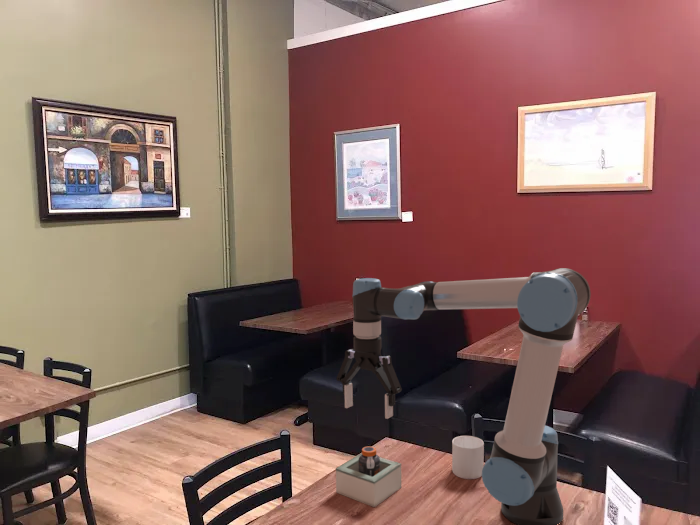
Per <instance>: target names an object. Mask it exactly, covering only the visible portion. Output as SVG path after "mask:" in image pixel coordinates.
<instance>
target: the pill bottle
mask: <svg viewBox="0 0 700 525" xmlns="http://www.w3.org/2000/svg"><path fill="white" fill-rule="evenodd" d="M361 453H362V455H361V456H360V457H359V472H360V473H363V474H366V475H369V476H372V477H373V476H375V475H376V474H378V473H379V472H380V458H379V457H380V456H379V455H378V454H377V448H376V447H374V446H364V447H362V449H361Z"/></svg>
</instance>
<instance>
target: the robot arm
mask: <svg viewBox="0 0 700 525" xmlns="http://www.w3.org/2000/svg"><path fill="white" fill-rule="evenodd" d="M352 284H353V285H352V296H351V297H352V308H353V312H352V313H353V320H352V321H353V323H352V324H353V326H352V328H353V329H352V332H353V336H354V337H353V348H350V349H348V350H345V352H344V359H343V361H342V363H341V366H340V369H339V371H338V373H337V376H336V381H338V382H340V383H341V384H342V395H343V396H344V409H348V408H350V407H353V406H354V402H353V401H354V399H353V398H354V397H353V395H354V393H353V390H354V388H353V383H352V380H353V378H354V377H355V376H356V374H358V373H359V370H366V371H369V372H372V374H374V375H375V376H376V378H377V380H378V381H379V382H380V384H381V385H382V387H383V389H384V390H385V392H386V393H385V394H384V418H385V419H387V420H388V419H390V418H391V417H393V416H394V406H395V405H396V394H399V393H401V392H402V390H403V388H402V386H401V383H400V380H399V379H398V377H397V373H396V372H395V368H394V366H393V363H392V362H393V361H392V357H391V356H390V355H386V356H382V354H381V350H382V336H381V334H382V317H387V318H394V319H401V320H405V321H406V320H412V321H413V320H418V319H419V318H420V317H421V315H422V314H423V312H424V311H438V310H481V309H482V310H486V309H487V310H488V309H517V311H518V315H519V321H518V326H517V327H518V329H519V331H520V332H521V333H522V335H523V336H522V341H521V345H520V351H519V355H518V360H517V364H516V368H515V374H514V379H513V383H512V386H511V393H510V396H509V397H510V398H509V403H508V407H507V412H506V416H505V421H504V426H503V429H502V430H500V431H498V432H497V433H495V436H494V441H493V445H492V450H491V455H490V456H489V457H490V458H488V459H487V460H486V461H485V462H484V467H483V469H482V476H481V479H482V483H483V485H484V488H486V490H487V491H488V493H489V494H490V496H491V497H493V498H494V499H495V500H497V501H498V502H500V509H501V510H500V511H501V513H502V514H503V516H504V517H505V519H507V520H508V521H510V522H511V523H513V524H515V525H557V524H559V523H560V522H561V521H562V519H563V520H564V506H563V503H562V501H561V500H562V499H561V497H560V493H559V491H558V487H557V486H558V485H557V484H558V481H557V480H558V448H559V441H558V440H559V438H558V433H557V431H556V430H555V429H554V428H553V427H551V426H548V425H546V422H547V419H548V414H549V409H550V406H551V401H552V395H553V392H554V387H555V383H556V378H557V374H558V370H559V365H560V361H561V357H562V352H563V349H564V345H565V344H568V343H569V342H571V341H572V340H573V338H574V333H575V328H576V325H577V320H578V316H580V315H581V314H582V313H584V311H585V310H586V309H587V307H588V305H589V304H590V301H591V295H592V293H591V287H590V285H589V282H588V280H587V279H586V278H585V277H584V276H583V274H581V273H579V272H578V271H576V270H574V269H571V268H563V267H561V268H556V269H553V270H548V271H542V272H541V271H539V272H532V273H531V274H530V275H529V276H524V277H523V276H522V277H508V278H507V277H505V278H489V279H471V280H454V281H451V280H449V281H438V282H436V281H422V282H419V283H416V284H412V285H407V286H403V287H401V288H390V287H389V288H388V287H382V283H381V280H380V279H378V278H374V277H373V278H372V277H365V278H357V279H355V280H354V281H353V283H352ZM354 359H355V362H354V363H353V365H351V364H352V362H353V360H354ZM351 366H352V367H351ZM350 367H351V368H350ZM349 369H350V370H349ZM562 522H563V521H562ZM562 522H561V523H562ZM561 523H560V524H561ZM560 524H559V525H560Z"/></svg>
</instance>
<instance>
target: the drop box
mask: <svg viewBox="0 0 700 525" xmlns="http://www.w3.org/2000/svg"><path fill="white" fill-rule="evenodd" d="M361 455H362V452H361V453H359V454H357V455H356V456H354V457H353V458H351V459H349V460H348V461H346V462H344V463H342V464H341V465H339V466H338V467H336V468H335V492H336V494H339V495H342V496H344V497H346V498H349V499H351V500H352V499H353V500H355V501H357V502H360V503H361V504H362V503H363V504H364V505H368V506H369V507H373V508H376V507H377V506H379V505H380V504H381V503H383V502H384V501H385V500H387V499H389V497H391V496H392V495H394V493H396V492H398V491H399V490H400V489H401V488H402V463H400V462H398V461H394V460H390V459H388V458H385V457H382V456H379V458H380V472H379V473H378V474H376V475H375V476H373V477H372V476H369V475H366V474H363V473H360V472H359V457H360V456H361Z"/></svg>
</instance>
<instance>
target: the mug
mask: <svg viewBox="0 0 700 525" xmlns="http://www.w3.org/2000/svg"><path fill="white" fill-rule="evenodd" d="M451 442H452V445H451V446H452V447H451V448H452V449H451V450H452V451H451V453H452V456H451V458H452V459H451V460H452V462H451V471H452V473H453V475H454V476H456V477H458V478H461V479H465V480H475V479H476V480H477V479H479V478H482V469H483V467H484V464H485V462H484V456H485V454H484V453H485V449H484V448H485V447H484V446H485V443H484V441H483V439H482V438H479V437H477V436H474V435H473V436H472V435H460V436H459V435H458V436H456V437H454V438H453V439H452V441H451Z"/></svg>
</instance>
